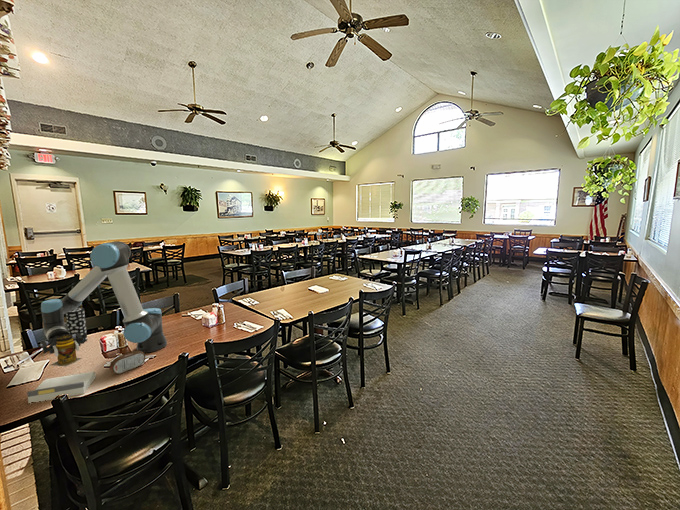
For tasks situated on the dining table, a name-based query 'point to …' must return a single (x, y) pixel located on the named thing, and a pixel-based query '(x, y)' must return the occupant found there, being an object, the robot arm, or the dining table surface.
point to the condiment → (66, 351)
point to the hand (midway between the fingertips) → (67, 350)
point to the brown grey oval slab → (127, 362)
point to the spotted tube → (77, 322)
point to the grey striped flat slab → (61, 387)
